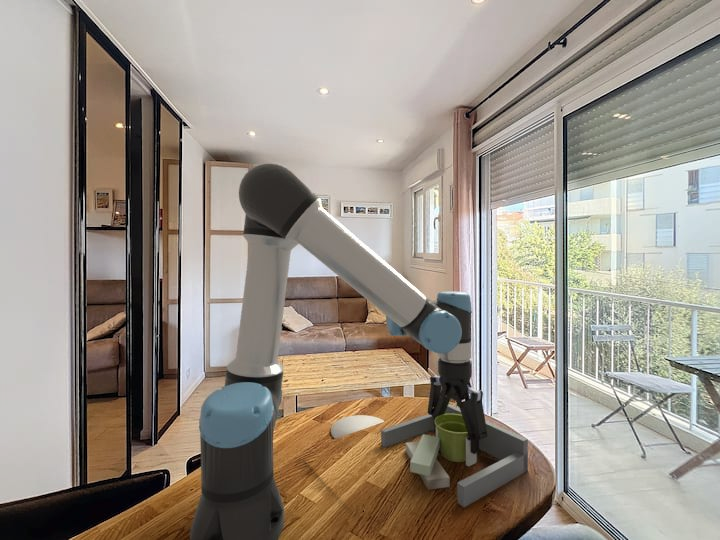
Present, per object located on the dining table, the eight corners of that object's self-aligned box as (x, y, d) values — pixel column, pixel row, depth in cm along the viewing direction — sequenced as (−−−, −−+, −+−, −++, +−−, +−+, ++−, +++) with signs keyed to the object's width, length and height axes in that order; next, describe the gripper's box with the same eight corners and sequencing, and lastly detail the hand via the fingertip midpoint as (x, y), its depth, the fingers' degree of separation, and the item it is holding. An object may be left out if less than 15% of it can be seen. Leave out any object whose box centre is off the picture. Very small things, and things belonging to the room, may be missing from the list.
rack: (464, 514, 60) (463, 470, 60) (381, 450, 82) (380, 417, 82) (527, 476, 71) (527, 439, 71) (439, 428, 93) (439, 399, 93)
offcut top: (410, 471, 68) (410, 461, 68) (423, 442, 79) (423, 434, 79) (429, 476, 67) (429, 466, 67) (440, 446, 78) (440, 437, 78)
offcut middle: (428, 490, 65) (427, 480, 65) (405, 451, 79) (405, 442, 79) (449, 487, 66) (449, 477, 66) (423, 449, 80) (423, 440, 80)
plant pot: (484, 460, 77) (484, 423, 77) (461, 477, 71) (461, 436, 71) (450, 444, 84) (450, 410, 84) (426, 458, 78) (426, 421, 78)
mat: (349, 452, 81) (349, 450, 81) (321, 426, 95) (321, 424, 95) (401, 434, 90) (401, 432, 90) (368, 412, 103) (368, 410, 103)
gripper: (505, 367, 70) (506, 474, 71) (433, 347, 88) (434, 432, 89) (482, 373, 66) (483, 486, 67) (411, 351, 84) (412, 440, 85)
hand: (455, 455), depth 78 cm, fingers closed on plant pot, 8 cm apart
